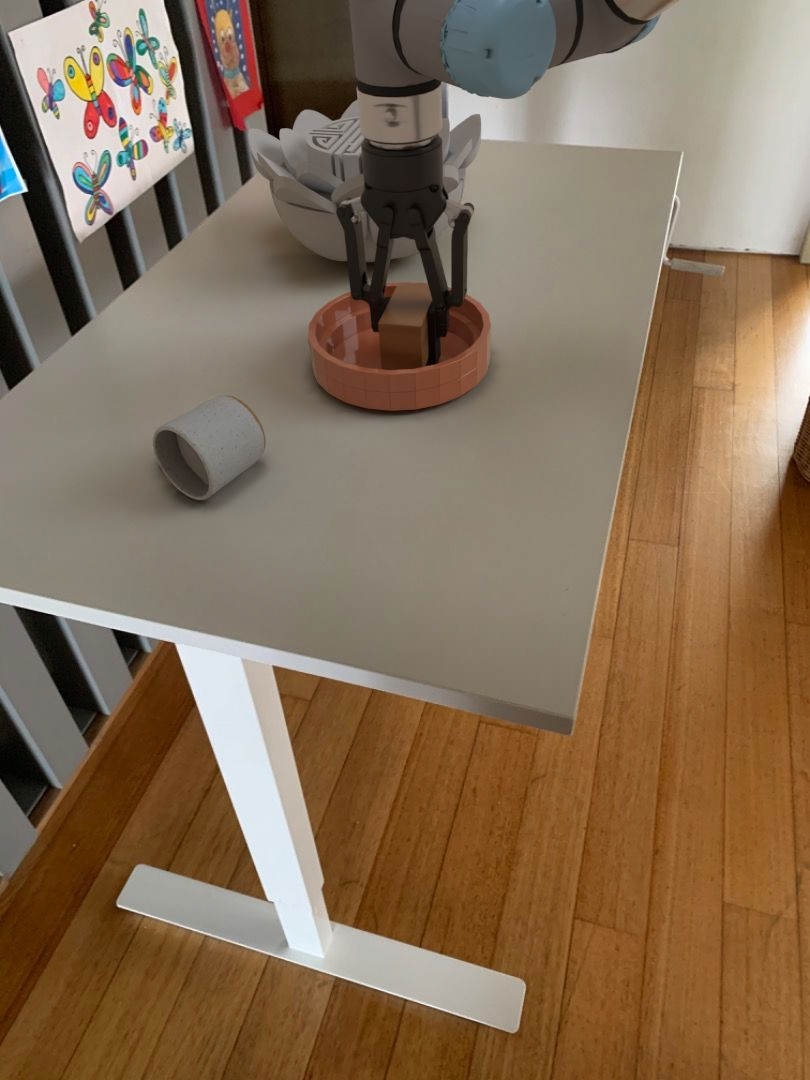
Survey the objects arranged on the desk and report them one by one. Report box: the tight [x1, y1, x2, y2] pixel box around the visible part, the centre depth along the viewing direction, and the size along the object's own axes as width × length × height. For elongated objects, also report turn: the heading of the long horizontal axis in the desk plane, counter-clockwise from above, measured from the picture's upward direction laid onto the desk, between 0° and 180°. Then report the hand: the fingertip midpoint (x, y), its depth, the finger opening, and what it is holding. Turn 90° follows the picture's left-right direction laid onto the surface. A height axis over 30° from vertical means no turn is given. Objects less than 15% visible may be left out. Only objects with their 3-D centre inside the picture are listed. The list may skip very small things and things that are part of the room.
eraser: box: [378, 282, 433, 370], centre depth 91 cm, size 9×4×7 cm, turn 167°
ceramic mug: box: [152, 395, 267, 501], centre depth 79 cm, size 11×8×8 cm
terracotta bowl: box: [307, 281, 492, 412], centre depth 92 cm, size 20×20×5 cm
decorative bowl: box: [248, 98, 482, 263], centre depth 112 cm, size 30×30×15 cm
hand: (411, 358), depth 93 cm, fingers closed on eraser, 4 cm apart
